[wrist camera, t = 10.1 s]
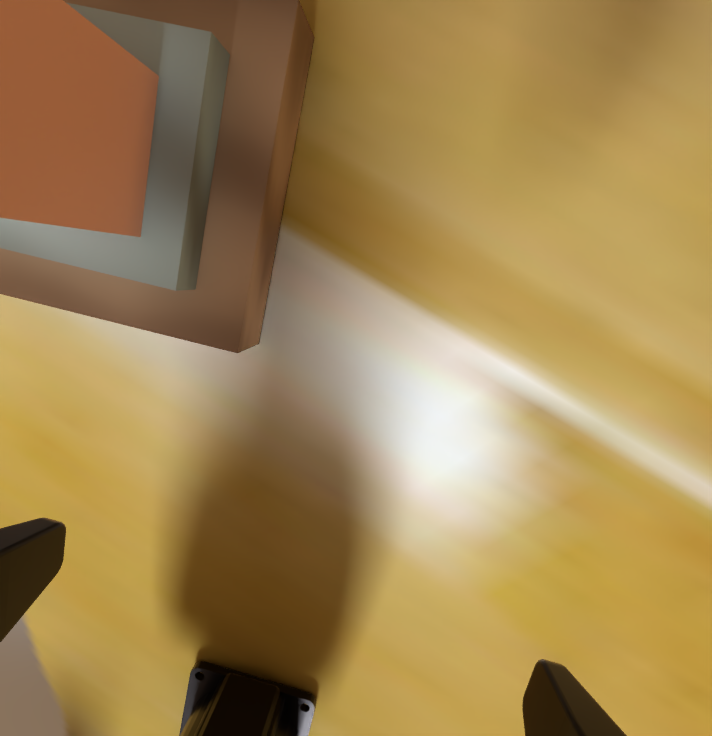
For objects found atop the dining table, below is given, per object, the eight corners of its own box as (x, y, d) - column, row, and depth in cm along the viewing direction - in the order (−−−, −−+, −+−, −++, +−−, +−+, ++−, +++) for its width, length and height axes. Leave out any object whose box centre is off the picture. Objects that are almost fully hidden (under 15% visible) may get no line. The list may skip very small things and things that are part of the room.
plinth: (258, 343, 20) (222, 360, 16) (4, 280, 21) (-89, 282, 17) (314, 37, 17) (286, -31, 13) (21, -22, 18) (-85, -102, 14)
